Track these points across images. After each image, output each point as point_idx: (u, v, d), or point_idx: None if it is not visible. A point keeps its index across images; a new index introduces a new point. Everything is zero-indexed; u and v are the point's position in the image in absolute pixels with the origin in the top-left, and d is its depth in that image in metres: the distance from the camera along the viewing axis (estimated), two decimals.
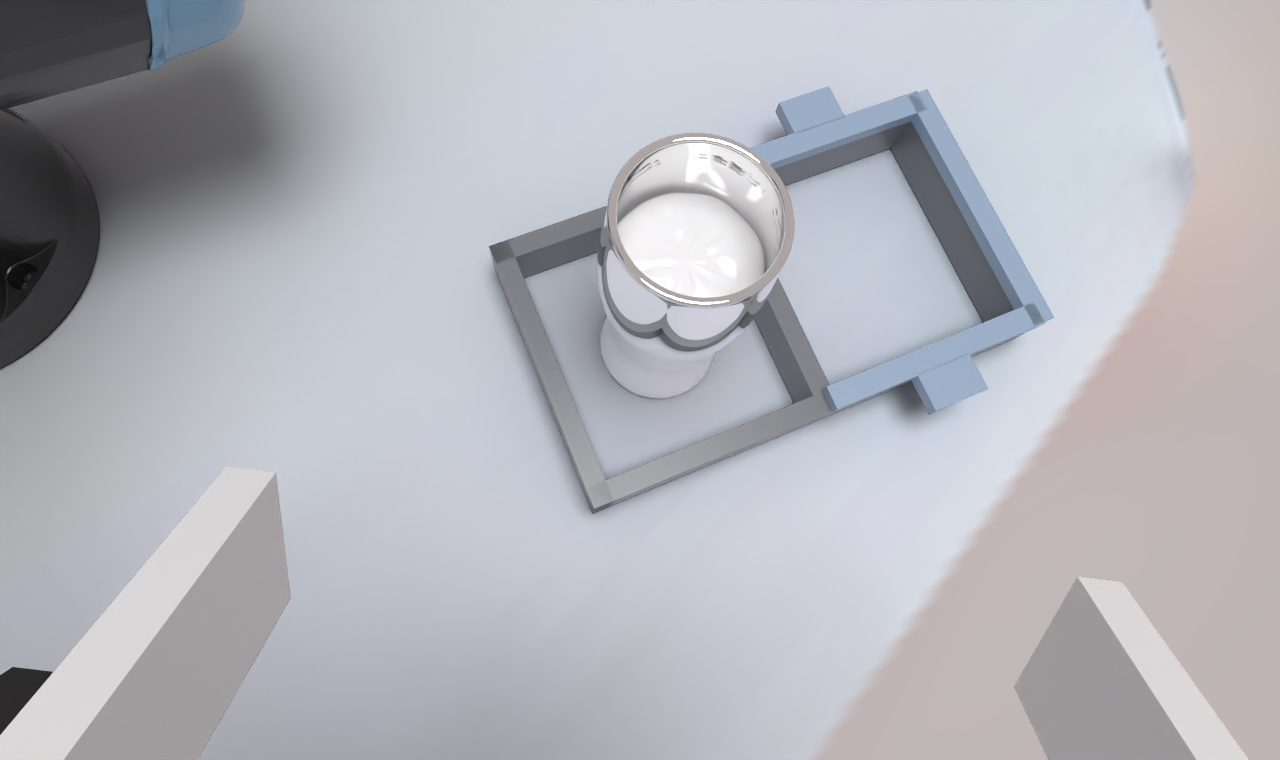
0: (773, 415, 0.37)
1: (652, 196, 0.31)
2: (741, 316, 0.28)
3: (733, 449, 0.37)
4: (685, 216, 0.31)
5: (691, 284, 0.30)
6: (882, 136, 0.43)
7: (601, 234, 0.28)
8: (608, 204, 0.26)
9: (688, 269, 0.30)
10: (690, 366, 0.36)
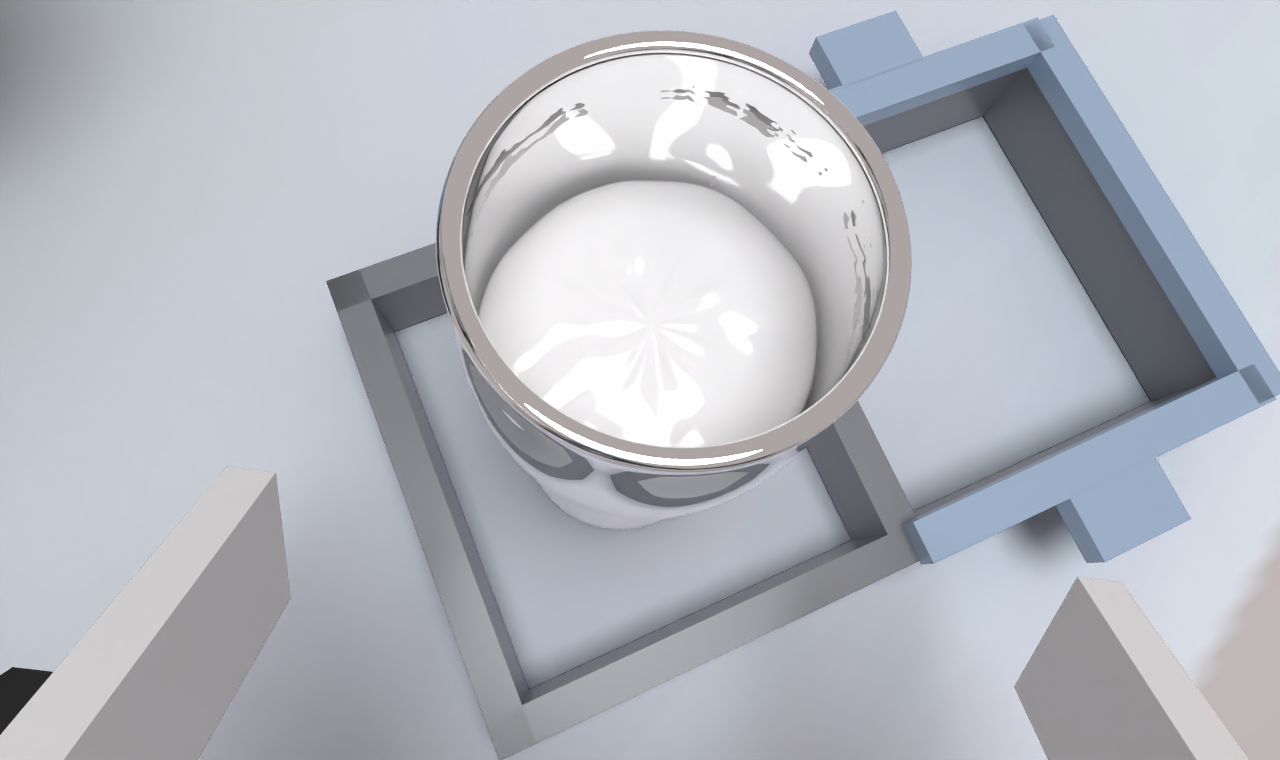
0: (819, 572, 0.21)
1: (585, 189, 0.15)
2: (778, 466, 0.12)
3: (751, 637, 0.21)
4: (651, 229, 0.15)
5: (664, 375, 0.14)
6: (978, 92, 0.27)
7: None
8: (441, 205, 0.10)
9: (657, 343, 0.14)
10: None
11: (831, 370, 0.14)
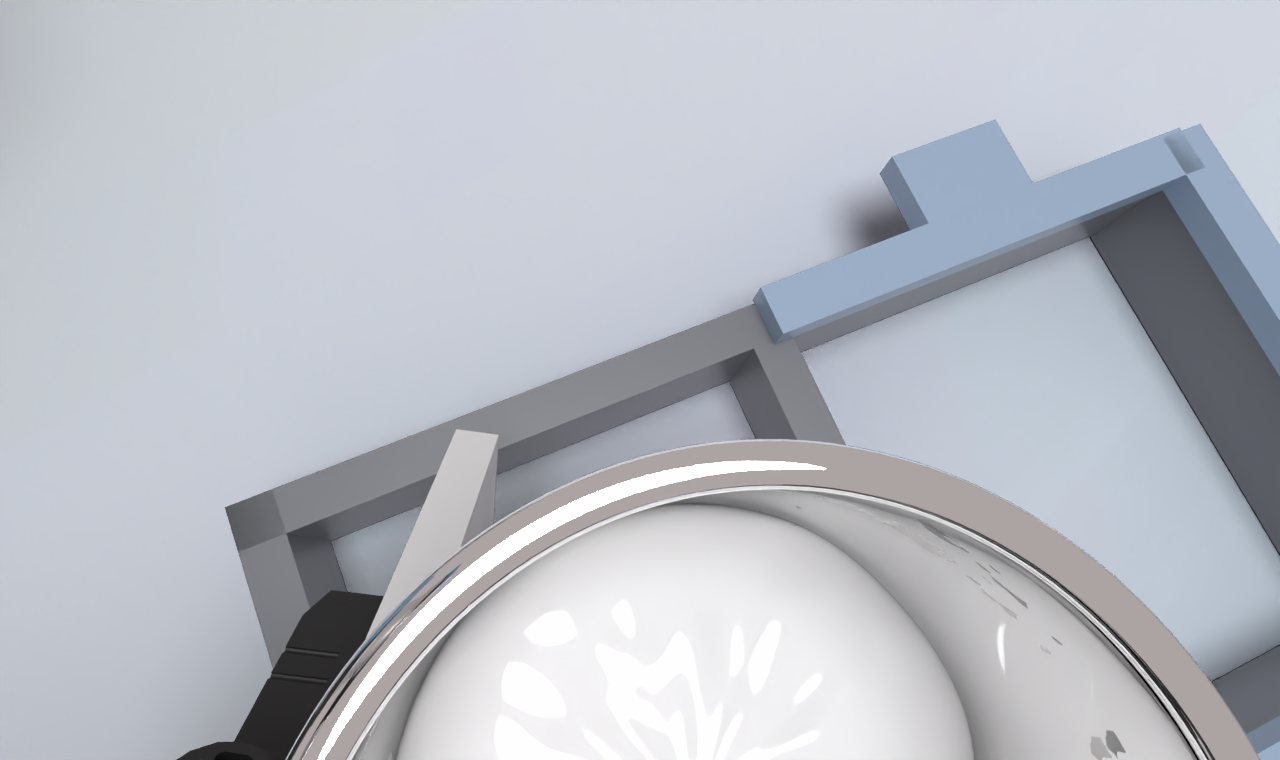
0: None
1: None
2: None
3: None
4: (695, 617, 0.09)
5: None
6: (1095, 219, 0.21)
7: None
8: None
9: None
10: None
11: None
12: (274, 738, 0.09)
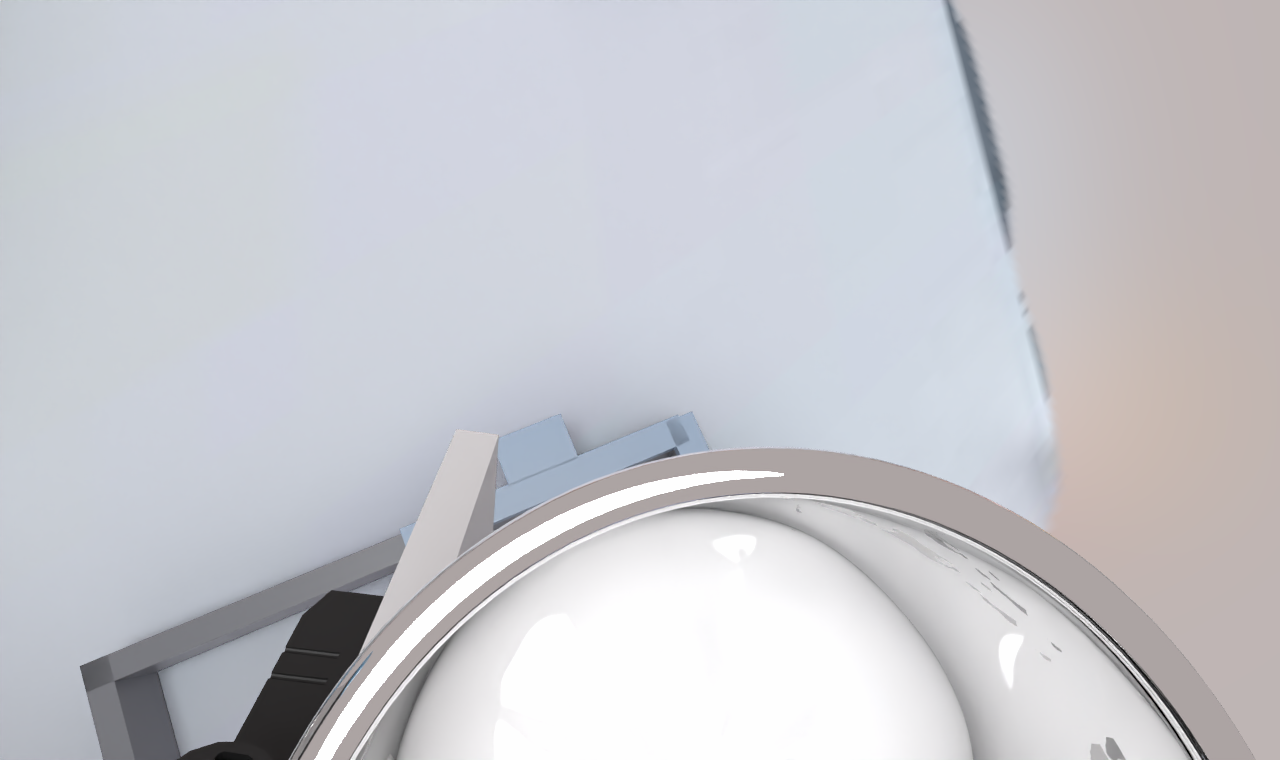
0: None
1: None
2: None
3: None
4: (694, 622, 0.09)
5: None
6: (641, 463, 0.33)
7: None
8: None
9: None
10: None
11: None
12: (274, 738, 0.09)
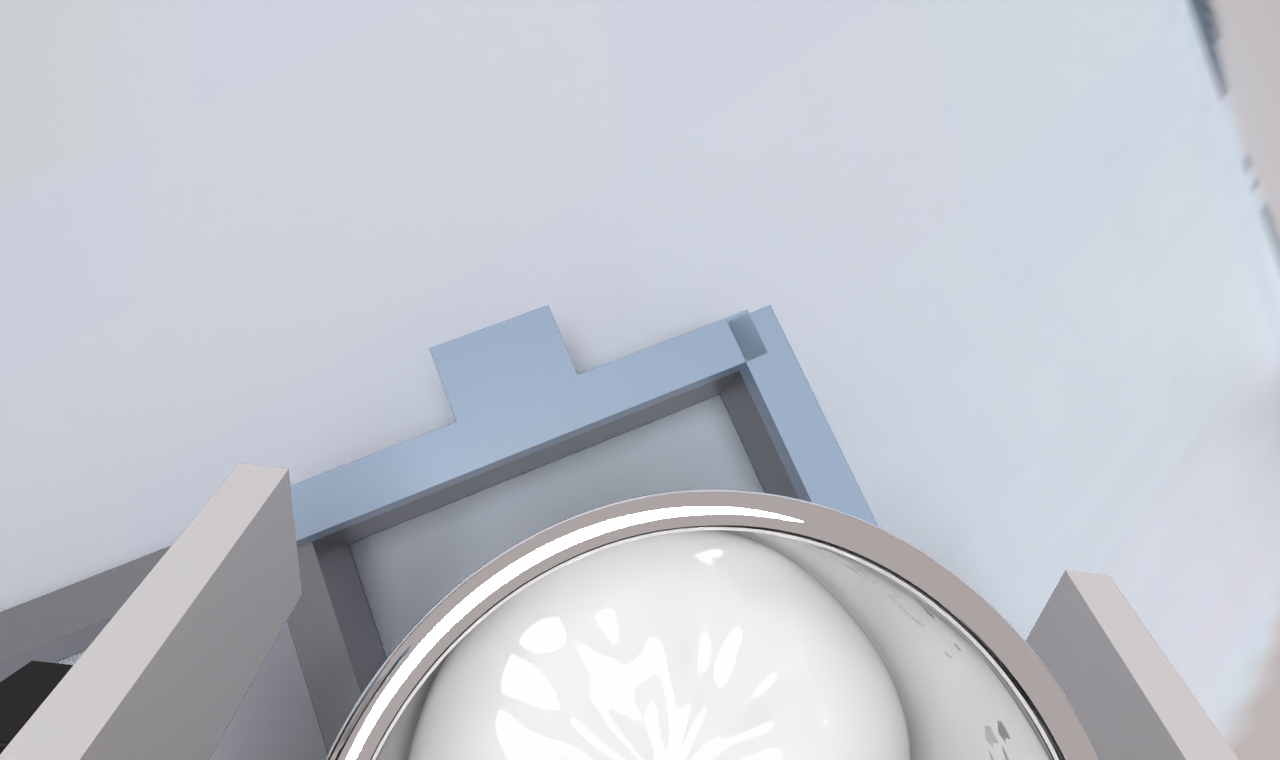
0: None
1: None
2: None
3: None
4: (668, 624, 0.10)
5: None
6: (682, 395, 0.20)
7: None
8: None
9: None
10: None
11: None
12: None
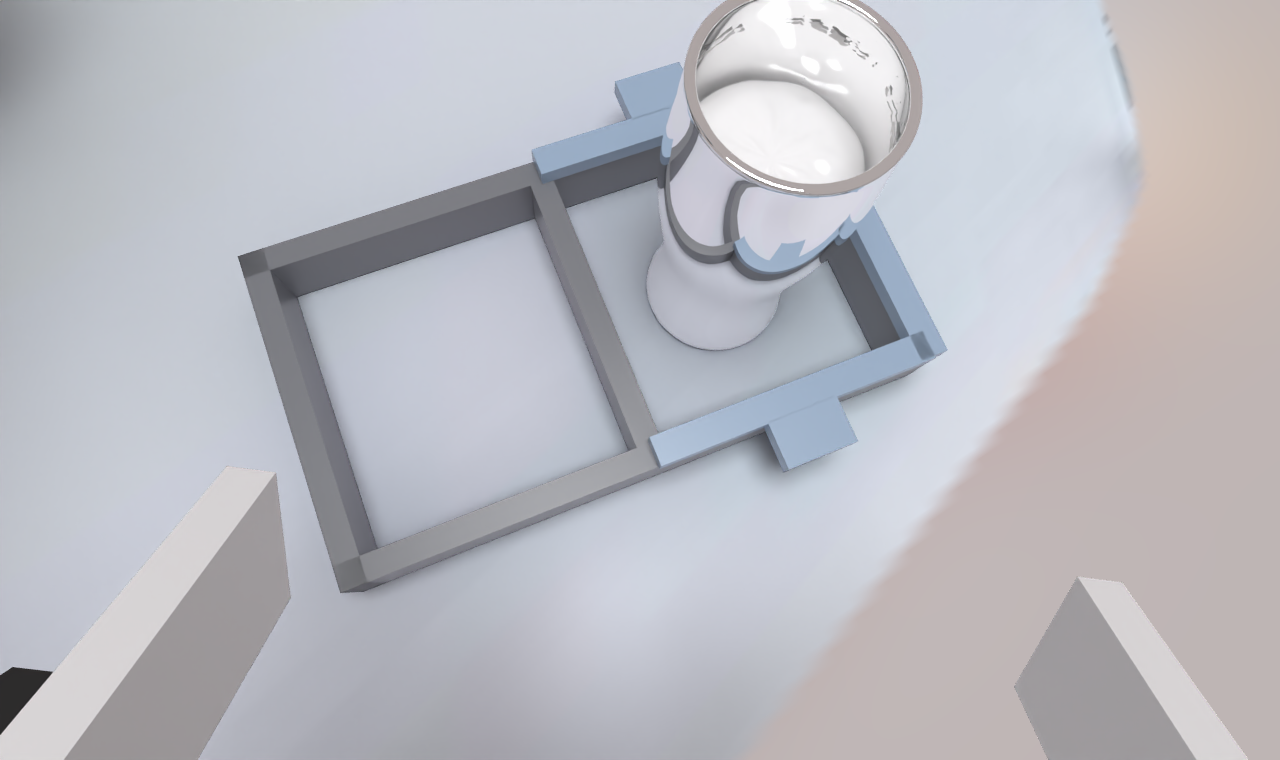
0: (583, 472, 0.29)
1: (725, 85, 0.26)
2: (848, 218, 0.22)
3: (528, 516, 0.29)
4: (768, 107, 0.25)
5: None
6: None
7: (670, 116, 0.22)
8: (685, 66, 0.20)
9: (773, 170, 0.24)
10: (759, 305, 0.30)
11: None
12: None
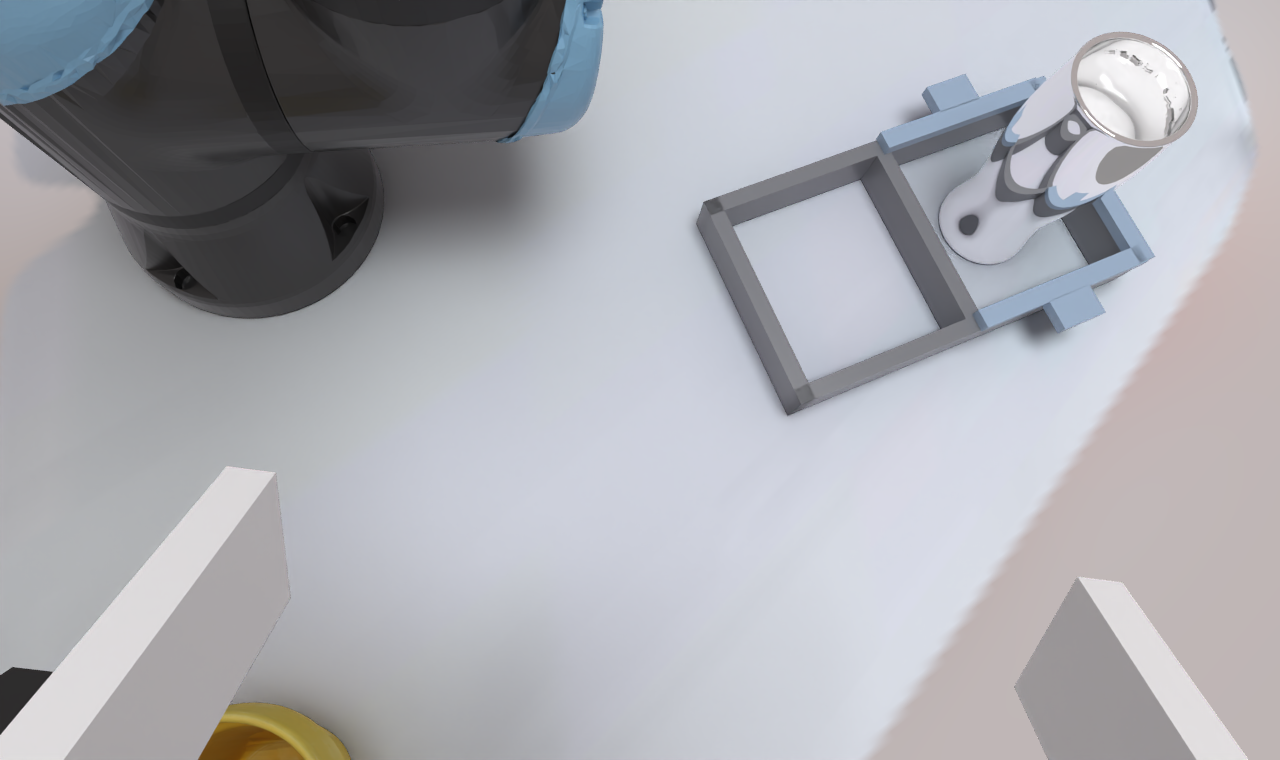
0: (935, 333, 0.47)
1: None
2: (1149, 162, 0.39)
3: (906, 359, 0.46)
4: None
5: None
6: (1005, 114, 0.52)
7: (1045, 106, 0.40)
8: (1072, 79, 0.38)
9: None
10: (1039, 228, 0.48)
11: None
12: None
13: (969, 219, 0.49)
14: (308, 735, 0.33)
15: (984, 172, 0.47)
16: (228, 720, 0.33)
